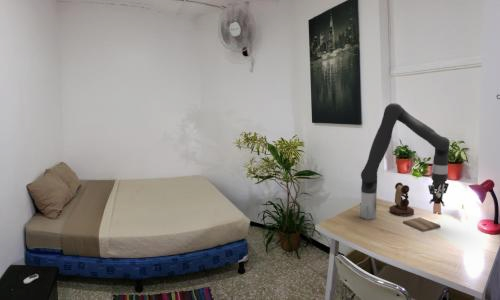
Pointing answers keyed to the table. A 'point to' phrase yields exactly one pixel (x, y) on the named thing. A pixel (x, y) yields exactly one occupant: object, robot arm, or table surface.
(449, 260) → the table surface
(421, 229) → the walnut board
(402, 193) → the brown wooden statue
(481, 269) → the table surface
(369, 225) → the table surface
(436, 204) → the grandmother figurine
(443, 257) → the table surface
